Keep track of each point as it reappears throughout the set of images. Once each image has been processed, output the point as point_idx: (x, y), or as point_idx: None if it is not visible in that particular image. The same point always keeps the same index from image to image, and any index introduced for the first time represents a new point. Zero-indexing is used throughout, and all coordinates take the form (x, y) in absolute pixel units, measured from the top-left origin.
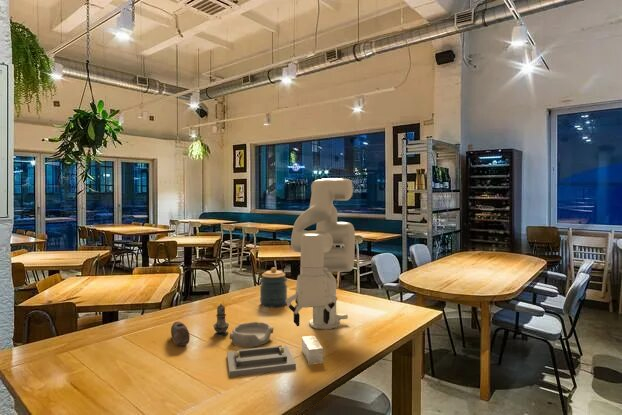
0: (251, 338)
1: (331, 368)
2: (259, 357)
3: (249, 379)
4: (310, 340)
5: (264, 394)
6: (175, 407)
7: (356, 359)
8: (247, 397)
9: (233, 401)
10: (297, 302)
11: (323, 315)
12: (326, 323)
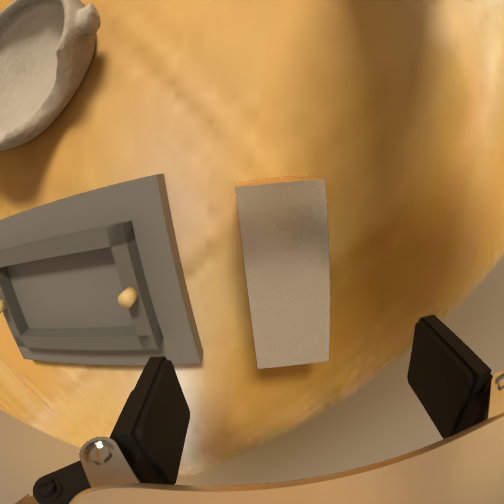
0: (4, 148)
1: (334, 361)
2: (60, 288)
3: (77, 378)
4: (285, 256)
5: None
6: (15, 415)
7: (439, 300)
8: (102, 435)
9: (83, 436)
10: (92, 491)
11: (441, 348)
12: (411, 378)
